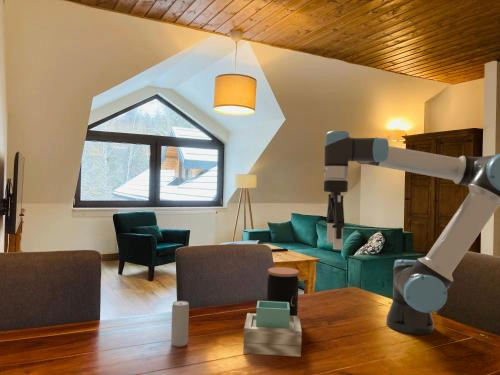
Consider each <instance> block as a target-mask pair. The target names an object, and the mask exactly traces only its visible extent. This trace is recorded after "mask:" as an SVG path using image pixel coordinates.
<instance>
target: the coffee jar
mask: <svg viewBox="0 0 500 375" xmlns="http://www.w3.org/2000/svg"><path fill="white" fill-rule="evenodd" d="M267 274H268V276H267V283H266V284H267V285H266V288H267V289H266V301H273V302H289V307H290V316H298V308H299V307H298V304H299V281H300V280H299V277H298V275H299V274H300V270H298V269H296V268H292V267H285V266H284V267H283V266H282V267H281V266H279V267H269V268H268V269H267Z"/></svg>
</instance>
